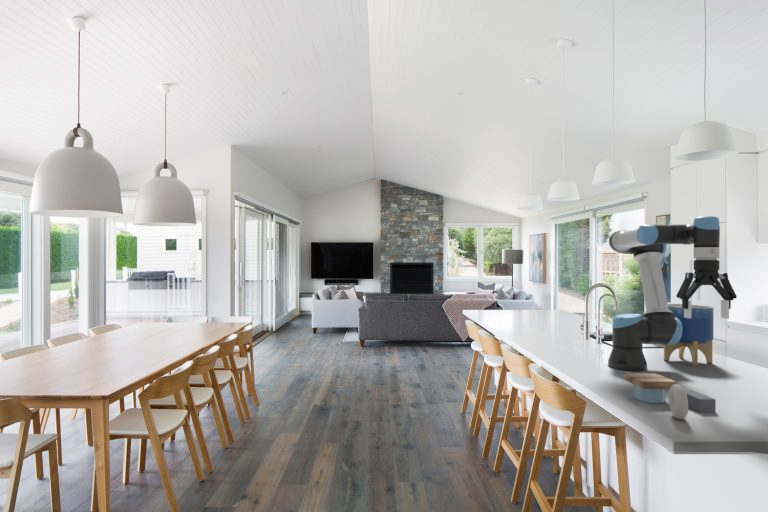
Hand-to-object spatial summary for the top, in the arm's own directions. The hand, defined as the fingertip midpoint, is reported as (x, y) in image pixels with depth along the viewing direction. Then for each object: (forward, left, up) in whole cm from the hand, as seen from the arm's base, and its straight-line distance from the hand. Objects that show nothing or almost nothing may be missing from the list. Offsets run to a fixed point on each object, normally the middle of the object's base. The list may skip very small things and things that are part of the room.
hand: (706, 318), depth 156 cm
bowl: (+8, -26, -27) cm, 38 cm away
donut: (+26, -29, -27) cm, 47 cm away
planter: (-46, +28, -27) cm, 60 cm away
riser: (+16, -16, -27) cm, 35 cm away
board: (+8, -26, -22) cm, 35 cm away
